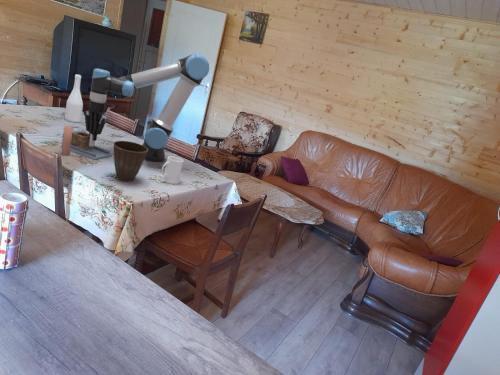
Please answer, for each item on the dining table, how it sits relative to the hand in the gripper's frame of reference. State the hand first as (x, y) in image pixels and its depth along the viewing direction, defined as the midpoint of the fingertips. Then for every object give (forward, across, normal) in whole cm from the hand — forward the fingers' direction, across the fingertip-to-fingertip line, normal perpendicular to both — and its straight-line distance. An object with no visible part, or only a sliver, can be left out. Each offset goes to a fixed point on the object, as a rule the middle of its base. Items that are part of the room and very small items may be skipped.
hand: (91, 145), depth 181 cm
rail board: (+4, +2, 0) cm, 4 cm away
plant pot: (+5, -31, +14) cm, 34 cm away
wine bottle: (+4, +49, -42) cm, 65 cm away
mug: (+5, -45, -2) cm, 45 cm away
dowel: (+4, +4, +13) cm, 14 cm away
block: (+3, +6, 0) cm, 7 cm away
